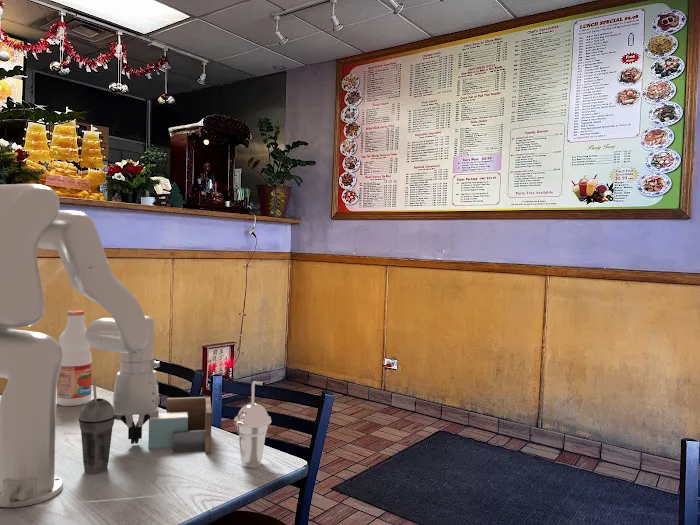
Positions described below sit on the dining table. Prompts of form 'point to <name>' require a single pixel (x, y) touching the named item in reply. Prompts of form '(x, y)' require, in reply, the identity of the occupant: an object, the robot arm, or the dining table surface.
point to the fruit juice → (74, 363)
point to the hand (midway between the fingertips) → (134, 441)
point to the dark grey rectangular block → (188, 441)
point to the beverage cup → (96, 433)
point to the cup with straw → (252, 431)
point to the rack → (195, 414)
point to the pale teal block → (166, 428)
